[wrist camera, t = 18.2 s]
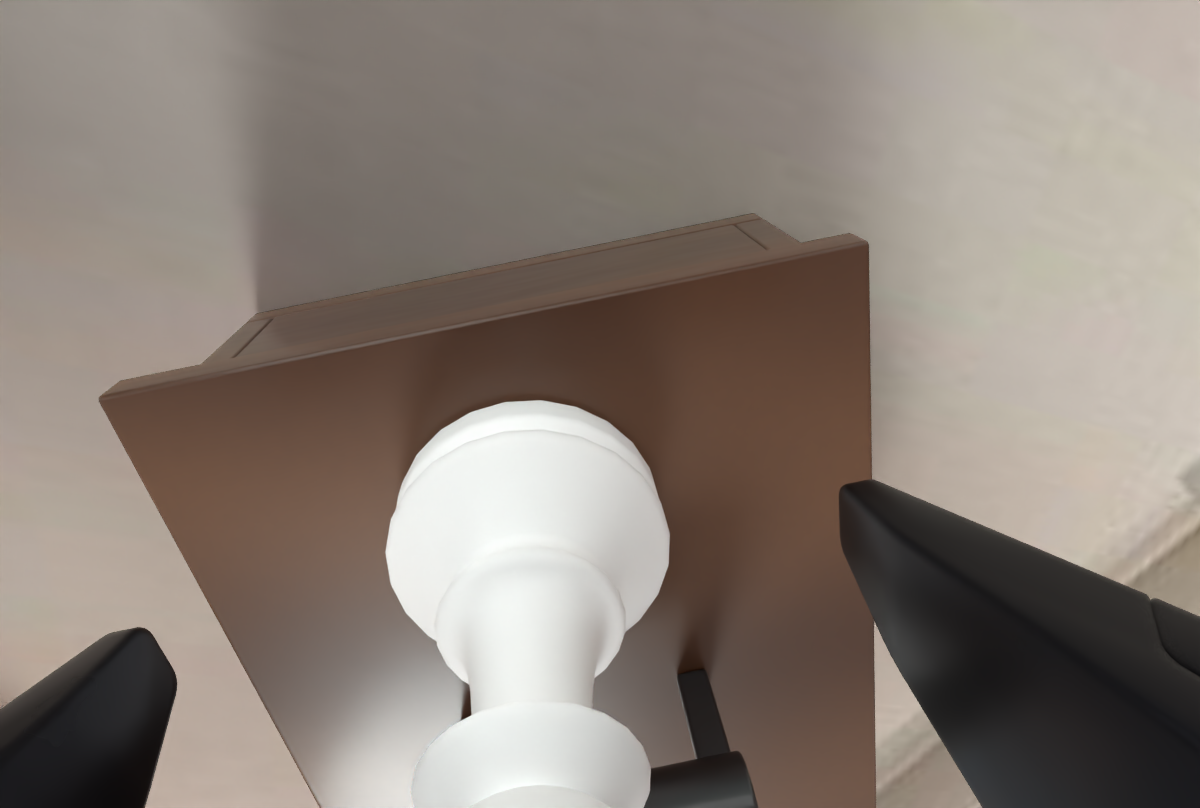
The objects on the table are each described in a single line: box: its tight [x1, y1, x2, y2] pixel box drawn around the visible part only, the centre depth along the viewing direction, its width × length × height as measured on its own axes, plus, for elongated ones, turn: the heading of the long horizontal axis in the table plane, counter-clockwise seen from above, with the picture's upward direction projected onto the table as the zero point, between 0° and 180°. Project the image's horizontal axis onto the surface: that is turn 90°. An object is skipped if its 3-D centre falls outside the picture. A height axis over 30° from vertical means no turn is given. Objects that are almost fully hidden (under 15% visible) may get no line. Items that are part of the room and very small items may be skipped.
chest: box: [202, 213, 800, 364], centre depth 20 cm, size 16×14×6 cm
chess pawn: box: [385, 400, 670, 808], centre depth 10 cm, size 5×5×9 cm
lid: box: [99, 233, 876, 808], centre depth 14 cm, size 16×14×5 cm
